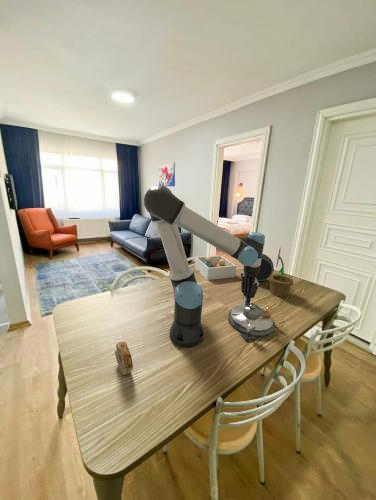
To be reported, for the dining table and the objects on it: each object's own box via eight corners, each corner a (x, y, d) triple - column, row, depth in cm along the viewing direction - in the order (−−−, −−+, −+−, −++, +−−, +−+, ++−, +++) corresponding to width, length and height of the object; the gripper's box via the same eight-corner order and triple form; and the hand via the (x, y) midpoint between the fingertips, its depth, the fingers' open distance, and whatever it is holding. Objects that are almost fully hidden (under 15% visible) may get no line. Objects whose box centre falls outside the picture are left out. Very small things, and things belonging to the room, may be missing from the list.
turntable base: (244, 341, 90) (245, 338, 90) (220, 313, 110) (220, 309, 109) (284, 332, 98) (285, 328, 97) (254, 307, 118) (255, 304, 117)
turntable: (235, 330, 94) (237, 318, 92) (227, 306, 113) (228, 295, 111) (279, 332, 94) (282, 320, 92) (264, 307, 113) (266, 297, 111)
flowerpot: (267, 286, 145) (275, 244, 136) (290, 291, 139) (300, 248, 130) (265, 294, 132) (273, 249, 123) (290, 301, 126) (300, 254, 118)
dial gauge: (245, 341, 91) (248, 327, 88) (240, 335, 94) (242, 321, 92) (255, 339, 92) (257, 324, 90) (249, 333, 96) (252, 319, 94)
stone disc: (135, 376, 71) (134, 353, 68) (124, 382, 69) (123, 357, 66) (124, 356, 79) (123, 334, 76) (114, 360, 77) (113, 338, 74)
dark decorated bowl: (272, 284, 147) (277, 257, 141) (243, 280, 151) (246, 254, 145) (269, 278, 157) (274, 253, 151) (242, 275, 161) (245, 250, 155)
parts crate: (207, 280, 148) (208, 268, 146) (194, 267, 170) (195, 257, 167) (234, 276, 156) (236, 265, 154) (219, 265, 178) (220, 255, 175)
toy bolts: (226, 269, 171) (228, 254, 167) (225, 277, 154) (227, 262, 151) (204, 266, 174) (205, 252, 170) (201, 274, 158) (202, 258, 154)
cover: (249, 321, 99) (250, 310, 97) (239, 311, 106) (241, 301, 104) (262, 318, 101) (264, 308, 100) (252, 309, 108) (254, 299, 107)
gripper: (267, 269, 96) (259, 313, 103) (250, 259, 107) (244, 299, 114) (254, 270, 93) (246, 315, 100) (238, 260, 105) (232, 301, 112)
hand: (245, 307), depth 107 cm, fingers closed
